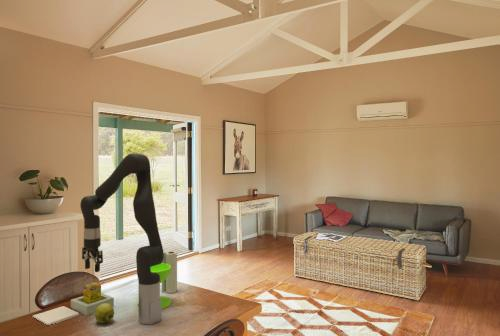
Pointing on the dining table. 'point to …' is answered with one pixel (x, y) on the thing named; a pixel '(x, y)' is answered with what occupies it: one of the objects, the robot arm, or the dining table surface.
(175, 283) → the paper towel roll
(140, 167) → the robot arm
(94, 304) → the frame
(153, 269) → the wineglass
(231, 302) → the dining table surface
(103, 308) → the apple
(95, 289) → the supplement box
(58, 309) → the mat
